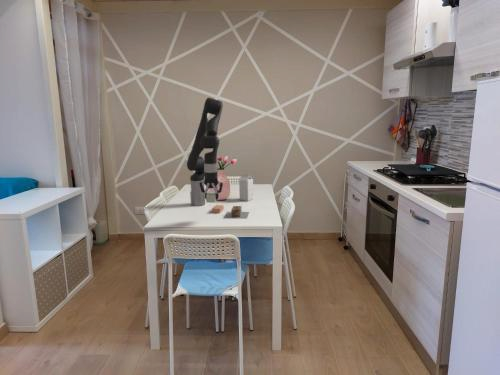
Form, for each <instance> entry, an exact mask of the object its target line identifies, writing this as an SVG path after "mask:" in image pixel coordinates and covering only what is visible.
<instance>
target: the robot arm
mask: <svg viewBox="0 0 500 375" xmlns="http://www.w3.org/2000/svg"><path fill="white" fill-rule="evenodd" d="M223 106H224V105H223V101H222V100H218V99H214V98H212V97H207V98H206V99H205V102H204V105H203V110H202V113H201V117H200V121H199V124H198V128H197V131H196V134H195V138H194V142H193V144H192V147H191V151H190V153H189V155H188V158H187V161H186V168H187V169H188V171H191V172H193V174H192V175H190V178H189V179H190V192H189V193H190V197H189V198H190V205H191V206H195V207H199V206H205V205H206V195H207V193H208V192H209V189H213V190H214V192H216V201H218V199H219V194H220V193H222V190H223V185H224V182H223V181H221V182H220V181H219V180H218V178H219V177H218V176H219V175H218V160H217V159H218V158H217V155H218V149H219V145H220V138H219V137H218V128H219V123H220V119H221V117H222V112H223V108H224V107H223ZM208 114H211V115H213V117H212V118H210V119H208ZM204 149H206V150H207V149H212V151H210V152H209V151H208V152H205V153H204V157H202V156H201V155H200V154H201V153H202V152H203V151H204ZM205 186H206V187H205ZM218 186H219V188H218Z"/></svg>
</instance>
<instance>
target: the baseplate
mask: <svg viewBox="0 0 500 375" xmlns="http://www.w3.org/2000/svg"><path fill="white" fill-rule="evenodd" d="M249 214H250V211H242V213H241V216H240V217H232V214H231V211H226V213H225V214H224V216H223V219H238V220H239V219H240V220H241V219H248V217H249Z"/></svg>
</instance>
